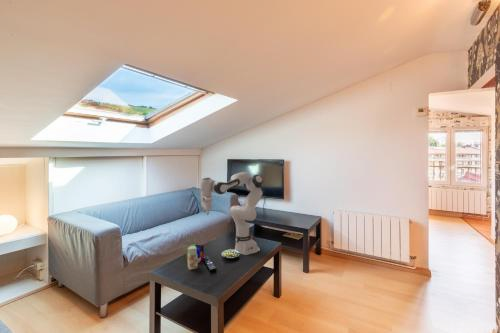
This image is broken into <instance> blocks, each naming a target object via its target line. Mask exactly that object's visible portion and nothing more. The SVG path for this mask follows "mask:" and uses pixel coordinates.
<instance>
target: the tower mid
mask: <svg viewBox="0 0 500 333" xmlns="http://www.w3.org/2000/svg"><path fill="white" fill-rule="evenodd" d="M188 261H189V263H193V262H198V255H193V256H190V255H189V254H188ZM188 261H187V262H188Z"/></svg>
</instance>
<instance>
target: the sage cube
mask: <svg viewBox="0 0 500 333" xmlns="http://www.w3.org/2000/svg"><path fill="white" fill-rule="evenodd" d="M187 248H188V254H189V255H190V256H193V255H197V248H196V247H195V246H192V247H190V246H188V247H187Z"/></svg>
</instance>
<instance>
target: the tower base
mask: <svg viewBox="0 0 500 333" xmlns="http://www.w3.org/2000/svg"><path fill="white" fill-rule="evenodd" d="M187 267H188V270H189V271H191V270H196V269H198V262H193V263H189V261H187Z"/></svg>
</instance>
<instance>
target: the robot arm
mask: <svg viewBox="0 0 500 333" xmlns="http://www.w3.org/2000/svg"><path fill="white" fill-rule="evenodd" d="M263 182H264V180H263V177H262V175H260V174H255V175H253V176H252V177H251V175H250V174H249V173H248V172H247V171H242V172H237V173H234V174H233V175H231V177H230V180H229V181H226V182H223V181H217V180H214V179H212V178H211V177H203V178H202V179H201V180H200V201H201V202H200V206H201V207H202V210H203V213H205V215H206V216H209V214H210V211H212V206H213V205H212V204H213V197H212V193H216V194H218V195H223V194H225V193H226V192H228V191H229V190H231V189H234V188H236V187H239V186H241V185H243V186H244V189H245V190H246V191H247V192H249V193H248V195H247V196H246V198H245V199H244V206H242V205H232V206H231V207H230V209H229V216H231V218H232V219H233V221H234V223H235V247H234V250H236V251H238V252H240V255H245V256H248V255H251V254H255V253H258V251H259V252H260V251H261V248H260V247H259V246H258V243H257V242H256V241H255V240H253V238H254V236H253V235H251V234H250V226H249V224H248V223H247V222H246V221H248V222H249V221H250V222H251V221H255V219H256V217H257V211H256V206H257V205H258V203H259V201H260V200H261V198H262V196H263V190H262V189H261V188H262V187H263Z"/></svg>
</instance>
